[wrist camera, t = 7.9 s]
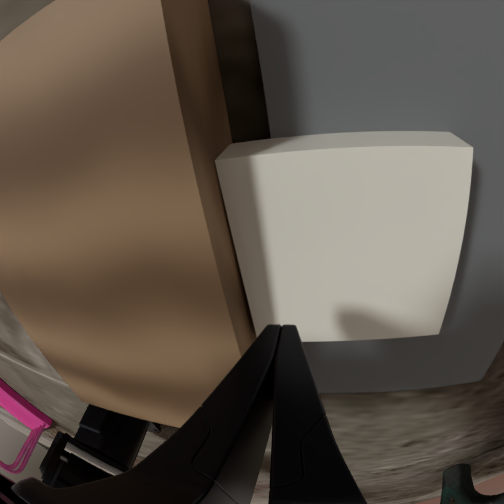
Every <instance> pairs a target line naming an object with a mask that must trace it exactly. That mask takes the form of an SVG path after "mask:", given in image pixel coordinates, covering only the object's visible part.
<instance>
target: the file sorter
mask: <svg viewBox="0 0 504 504" xmlns="http://www.w3.org/2000/svg"><path fill="white" fill-rule="evenodd" d="M0 405H1V406H2V407H3V408H4V409H6V410H7V411H8V412H9V413H10V414H12V415H13V416H14V417H15V418H17V419H18V420H19V421H21V422H22V423H23V424H25V425H26V426H27V427H29V428H30V429H32V431H31V432H30V434H29V436H28V438H27V440H26V442H25V443H24V445H23V447H22V449H21V451H20V452H19V454H18V456H17V458H16V460H15V462H14V463H13V464H11V465H6V464H4V463H3V462H1V461H0V467H1V468H2V469H4V470H5V471H7V472H9V473H14V474H17V473H20V472H22V471H23V470H24V468H25V466H26V464H27V462H28V460H29V458H30V456H31V454H32V452H33V450H34V448H35V446H36V444H37V442H38V440H39V438H40V436H41V434H42V432H43V430H44V429H45V428H48V427H50V425H51V424H52V422H53V420H52V419H51V418H49V417H48V416H46V415H45V414H44V413H42V412H41V411H40V410H38V409H37V408H36V407H34V406H33V405H32V404H30V403H29V402H28V401H26V400H25V399H24V398H23V397H21V396H20V395H19V394H18V393H16V392H15V391H14V390H13V389H12V388H10V387H9V386H8V385H7V384H6V383H5V382H4V381H2V380H1V379H0ZM30 443H31V444H30ZM29 445H30V446H29ZM28 447H29V448H28ZM27 448H28V450H27ZM26 450H27V452H26ZM25 452H26V455H25V457H24V459H23V461H22V463H21V465H20V467H19V468H18V469H17V470H15V471H12V470H13V469H15V468H16V467H17V466H18V464H19V462H20V461H21V459H22V457H23V455H24V454H25Z"/></svg>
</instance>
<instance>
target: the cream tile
mask: <svg viewBox="0 0 504 504" xmlns="http://www.w3.org/2000/svg"><path fill="white" fill-rule="evenodd" d="M472 161H473V147H472V146H470V145H469V144H467V143H466V142H464V141H463V140H461V139H460V138H458V137H457V136H455V135H454V134H452V133H450V132H435V131H373V132H347V133H329V134H315V135H303V136H292V137H282V138H272V139H264V140H255V141H248V142H240V143H233V144H230V145H229V146H228V147H227V148H226V149H225V150H224V151H223V152H222V153H221V154H220V155H219V156H218V157H217V158H216V160H215V165H216V169H217V173H218V178H219V182H220V186H221V191H222V195H223V199H224V203H225V208H226V212H227V216H228V221H229V225H230V229H231V233H232V237H233V242H234V246H235V250H236V254H237V258H238V262H239V267H240V271H241V275H242V279H243V283H244V287H245V291H246V295H247V299H248V303H249V308H250V312H251V316H252V320H253V324H254V328H255V332H256V336H257V337H258V336H259V335H260V333H261V332H262V331H263V329H264V328H265V327H266V326H267V325H268V324H280V325H281V326H282V325H284V324H294V325H296V327H297V329H298V332H299V335H300V338H301V341H302V342H320V341H353V340H373V339H390V338H403V337H416V336H427V335H437V334H439V332H440V329H441V325H442V322H443V319H444V316H445V312H446V309H447V305H448V302H449V298H450V294H451V290H452V287H453V282H454V278H455V274H456V270H457V265H458V261H459V256H460V251H461V246H462V241H463V235H464V229H465V223H466V217H467V210H468V202H469V194H470V185H471V174H472Z"/></svg>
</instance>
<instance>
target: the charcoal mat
mask: <svg viewBox="0 0 504 504" xmlns="http://www.w3.org/2000/svg"><path fill="white" fill-rule="evenodd" d="M249 1H250V6H251V12H252V18H253V24H254V30H255V36H256V42H257V48H258V54H259V61H260V67H261V73H262V80H263V87H264V93H265V100H266V107H267V114H268V121H269V128H270V136H271V139H272V138H282V137H292V136H303V135H315V134H329V133H347V132H373V131H435V132H450V133H452V134H454V135H455V136H457V137H458V138H460V139H461V140H463V141H464V142H466V143H467V144H469V145H470V146H472V147H473V161H472V174H471V185H470V194H469V202H468V210H467V217H466V223H465V229H464V235H463V241H462V246H461V251H460V256H459V261H458V265H457V270H456V274H455V278H454V282H453V287H452V290H451V294H450V298H449V302H448V305H447V309H446V312H445V316H444V319H443V322H442V325H441V329H440V332H439V334H437V335H427V336H416V337H403V338H390V339H373V340H353V341H320V342H302V344H303V347H304V350H305V353H306V356H307V359H308V362H309V365H310V368H311V371H312V374H313V377H314V380H315V383H316V386H317V389H318V392H319V393H368V392H388V391H402V390H414V389H425V388H434V387H442V386H450V385H457V384H464V383H471V382H477V381H481V380H482V378H483V377H484V375H485V373H486V372H487V370H488V368H489V367H490V365H491V363H492V362H493V360H494V358H495V356H496V355H497V353H498V351H499V349H500V348H501V346H502V344H503V342H504V0H249Z"/></svg>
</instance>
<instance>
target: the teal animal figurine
mask: <svg viewBox="0 0 504 504" xmlns="http://www.w3.org/2000/svg"><path fill="white" fill-rule="evenodd" d="M440 504H504V493H501V494H498V495H492V496H490V495H482V494H480V493H478V492H477V491H476V490H475V489H474V485H473V481H472V478H471V468H470V465H469V464H467V465H465V464H460V465H456V466H453V467H451V468H449V469H447V470H445V471H444V472H443V485H442V494H441V502H440Z"/></svg>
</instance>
